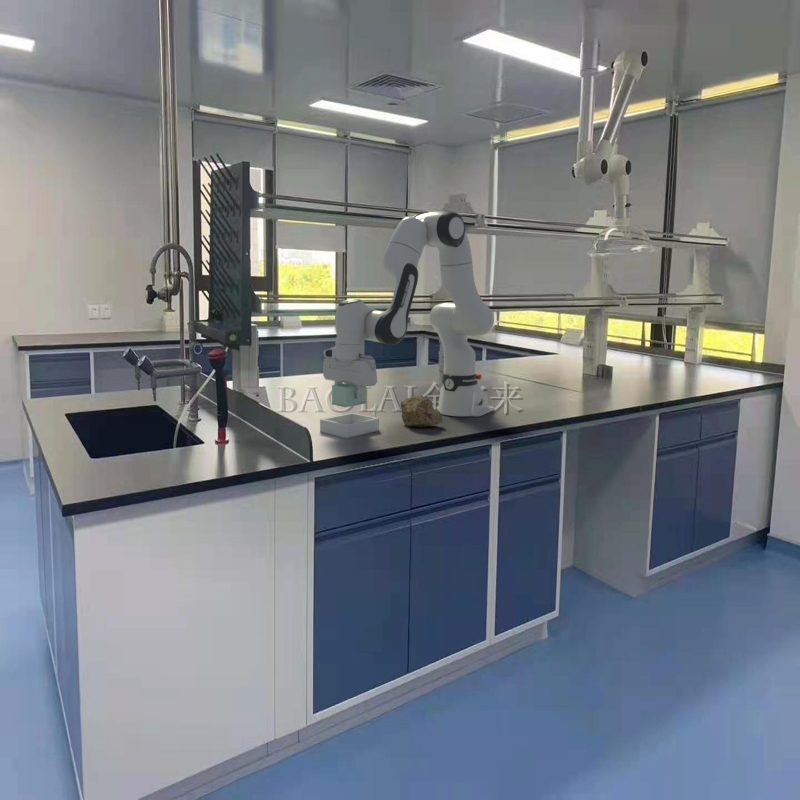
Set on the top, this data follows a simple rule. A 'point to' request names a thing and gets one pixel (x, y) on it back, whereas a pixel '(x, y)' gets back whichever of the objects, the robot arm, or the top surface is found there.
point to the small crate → (346, 395)
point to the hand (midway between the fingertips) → (349, 397)
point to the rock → (419, 412)
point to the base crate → (349, 425)
